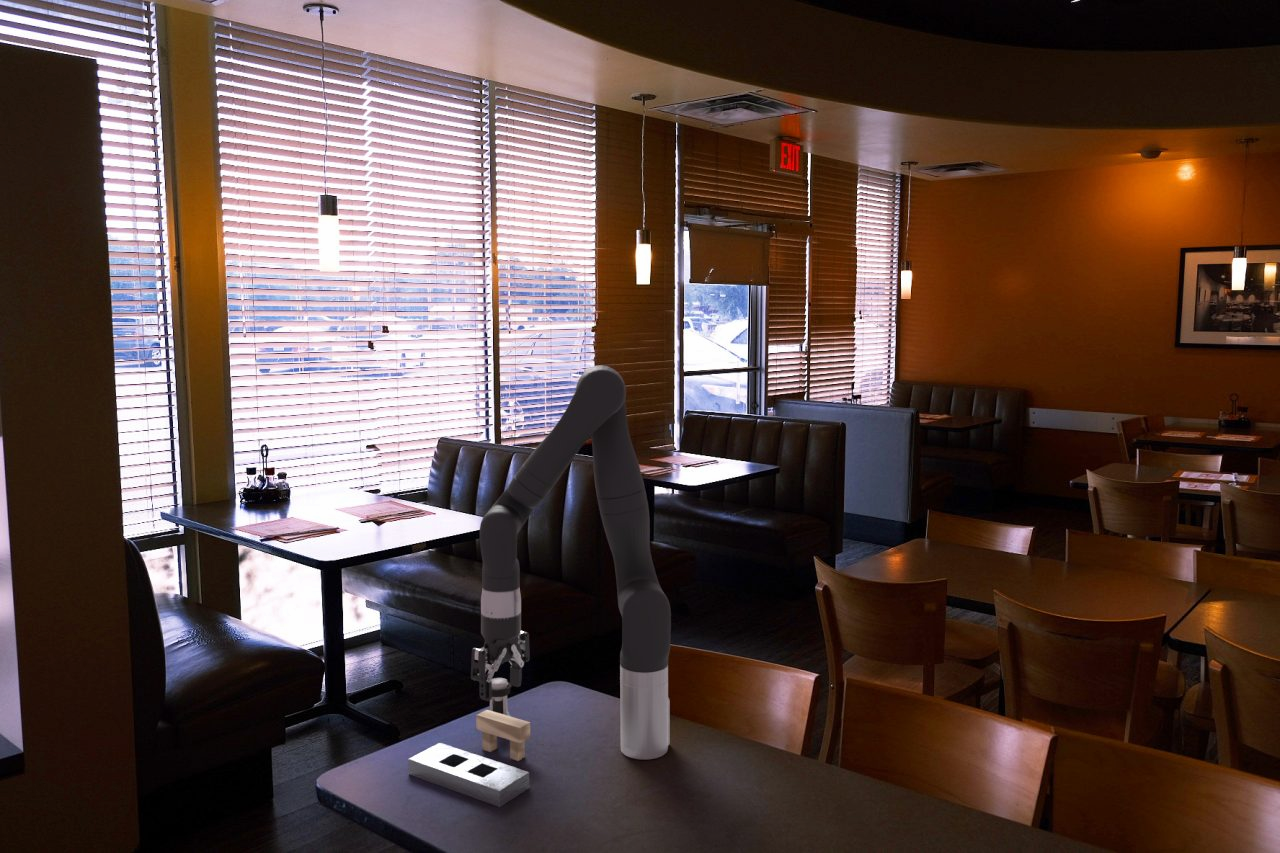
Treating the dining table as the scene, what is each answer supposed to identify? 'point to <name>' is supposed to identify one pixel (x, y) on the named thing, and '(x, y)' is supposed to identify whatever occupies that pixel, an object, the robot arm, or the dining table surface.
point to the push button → (500, 695)
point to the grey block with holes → (469, 774)
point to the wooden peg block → (503, 732)
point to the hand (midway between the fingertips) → (501, 692)
